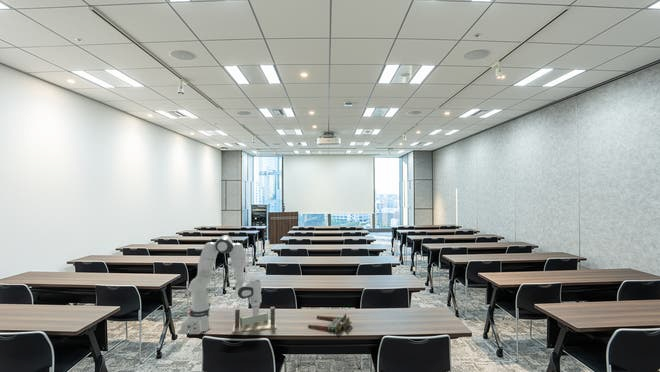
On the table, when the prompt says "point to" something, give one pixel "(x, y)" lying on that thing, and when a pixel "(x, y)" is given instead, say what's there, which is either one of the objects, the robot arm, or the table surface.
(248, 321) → the gate panel
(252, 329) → the base
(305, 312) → the table surface
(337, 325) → the miniature gate
